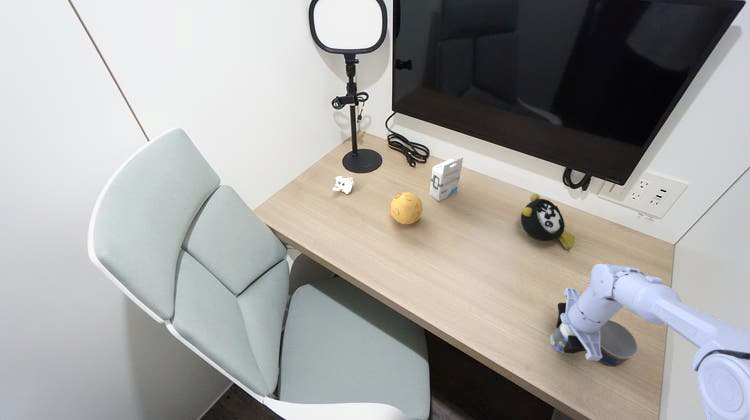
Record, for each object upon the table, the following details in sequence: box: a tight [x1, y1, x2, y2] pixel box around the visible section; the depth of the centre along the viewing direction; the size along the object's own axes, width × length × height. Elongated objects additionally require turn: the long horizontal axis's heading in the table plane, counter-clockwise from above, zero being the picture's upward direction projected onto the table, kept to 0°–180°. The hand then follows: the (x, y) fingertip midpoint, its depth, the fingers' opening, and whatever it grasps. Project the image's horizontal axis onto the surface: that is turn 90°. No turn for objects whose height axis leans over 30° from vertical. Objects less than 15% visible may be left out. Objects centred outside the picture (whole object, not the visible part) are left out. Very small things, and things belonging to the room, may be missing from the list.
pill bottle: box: [549, 323, 576, 354], centre depth 68 cm, size 5×5×8 cm
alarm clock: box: [520, 193, 576, 250], centre depth 90 cm, size 12×15×15 cm
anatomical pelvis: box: [332, 175, 354, 195], centre depth 110 cm, size 8×4×7 cm
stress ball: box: [390, 191, 424, 225], centre depth 96 cm, size 10×10×10 cm
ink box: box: [429, 157, 464, 202], centre depth 103 cm, size 8×5×15 cm, turn 124°
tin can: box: [597, 319, 638, 367], centre depth 68 cm, size 8×8×5 cm
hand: (564, 339), depth 69 cm, fingers closed on pill bottle, 5 cm apart
